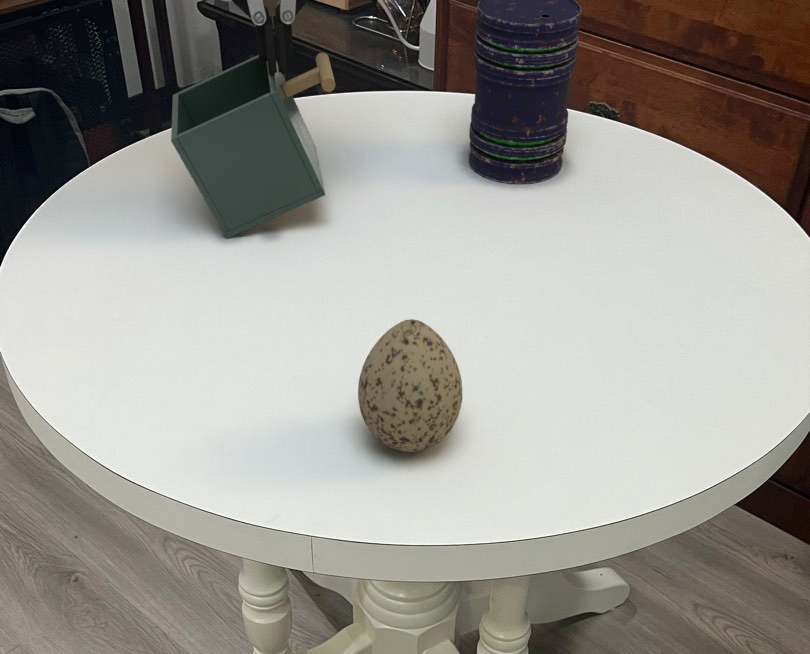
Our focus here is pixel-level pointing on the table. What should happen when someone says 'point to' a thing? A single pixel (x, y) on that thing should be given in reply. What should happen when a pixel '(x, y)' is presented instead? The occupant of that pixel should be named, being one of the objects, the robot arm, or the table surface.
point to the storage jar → (522, 88)
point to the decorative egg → (410, 388)
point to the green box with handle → (249, 142)
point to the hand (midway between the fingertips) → (277, 68)
